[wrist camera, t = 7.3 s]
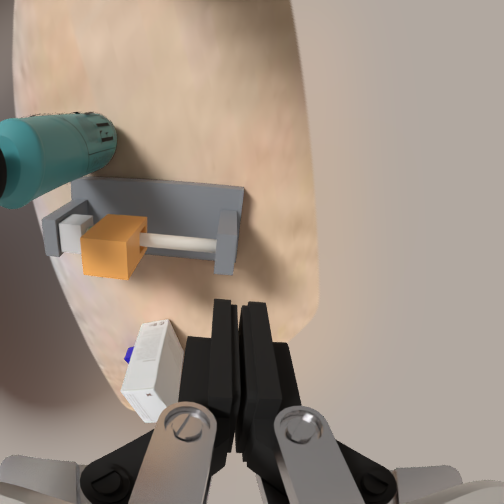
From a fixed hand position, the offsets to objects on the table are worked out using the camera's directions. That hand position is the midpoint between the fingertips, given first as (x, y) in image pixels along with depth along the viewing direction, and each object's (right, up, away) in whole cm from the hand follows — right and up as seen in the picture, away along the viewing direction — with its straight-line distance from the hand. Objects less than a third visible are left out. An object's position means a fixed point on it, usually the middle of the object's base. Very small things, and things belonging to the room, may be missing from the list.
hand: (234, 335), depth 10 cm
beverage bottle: (-16, +15, +19) cm, 29 cm away
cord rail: (-10, +7, +23) cm, 26 cm away
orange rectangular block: (-11, +5, +18) cm, 21 cm away
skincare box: (-11, -9, +30) cm, 33 cm away
